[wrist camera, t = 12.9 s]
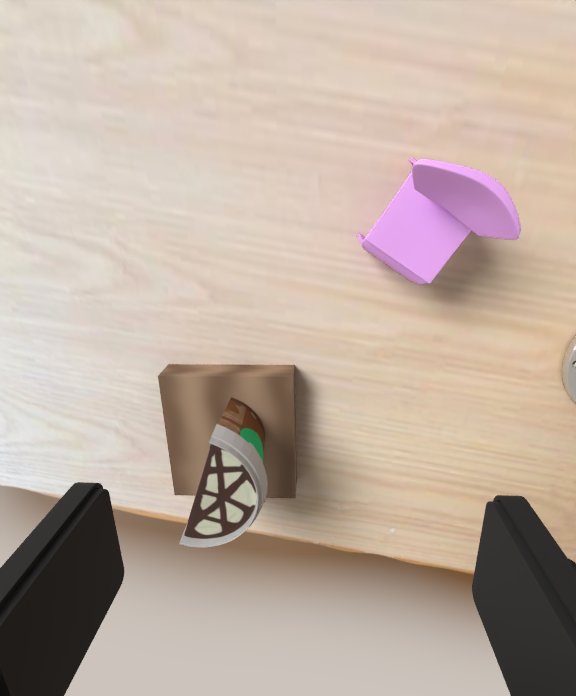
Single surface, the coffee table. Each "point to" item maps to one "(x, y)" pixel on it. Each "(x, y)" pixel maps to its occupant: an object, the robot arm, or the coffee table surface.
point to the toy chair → (439, 218)
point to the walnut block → (207, 408)
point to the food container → (229, 480)
